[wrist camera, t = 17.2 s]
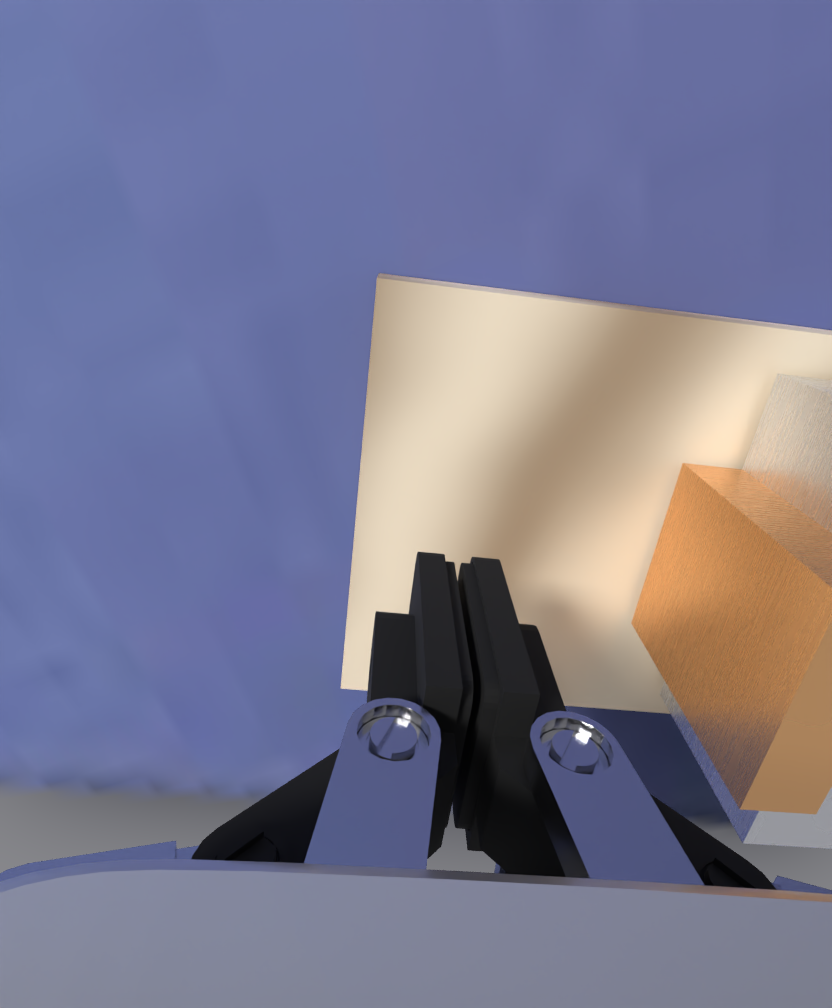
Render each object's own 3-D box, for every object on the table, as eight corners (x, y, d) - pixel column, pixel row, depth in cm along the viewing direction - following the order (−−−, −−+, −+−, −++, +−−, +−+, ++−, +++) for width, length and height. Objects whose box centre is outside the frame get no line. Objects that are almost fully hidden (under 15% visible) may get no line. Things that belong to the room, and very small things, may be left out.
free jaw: (870, 384, 15) (1157, 480, 9) (733, 700, 19) (875, 900, 13) (714, 365, 15) (911, 454, 9) (609, 690, 19) (700, 890, 13)
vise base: (1268, 385, 17) (1344, 399, 16) (1037, 712, 22) (1080, 744, 21) (378, 273, 15) (376, 278, 14) (344, 657, 20) (340, 688, 19)
